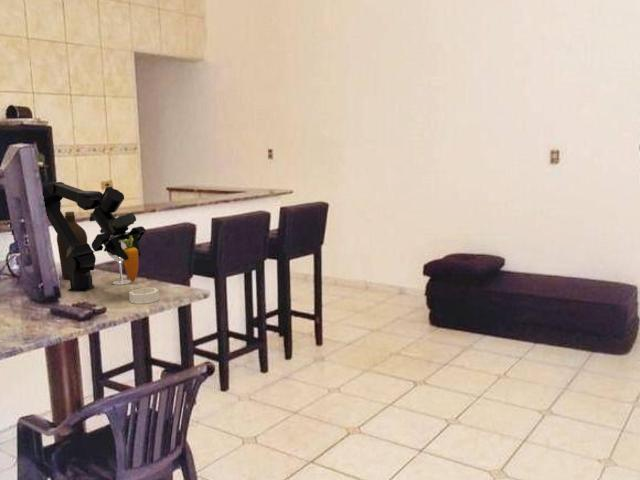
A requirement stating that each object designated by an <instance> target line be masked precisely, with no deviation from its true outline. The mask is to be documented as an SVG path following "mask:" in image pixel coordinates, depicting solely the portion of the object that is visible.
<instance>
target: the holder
mask: <svg viewBox="0 0 640 480" xmlns="http://www.w3.org/2000/svg"><path fill="white" fill-rule="evenodd" d="M128 297H129V298H128V299H129V302H130V303H131V304H134V305H143V304H144V305H145V304H151V303H155V302H157V301H159V299H160V291H159V289H158V288H156V287H140V288H135V289H132V290H131V291H129V292H128Z"/></svg>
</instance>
